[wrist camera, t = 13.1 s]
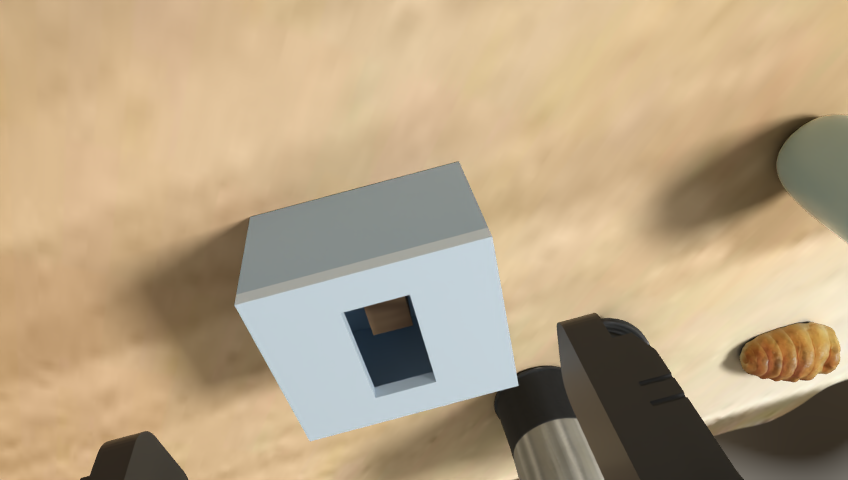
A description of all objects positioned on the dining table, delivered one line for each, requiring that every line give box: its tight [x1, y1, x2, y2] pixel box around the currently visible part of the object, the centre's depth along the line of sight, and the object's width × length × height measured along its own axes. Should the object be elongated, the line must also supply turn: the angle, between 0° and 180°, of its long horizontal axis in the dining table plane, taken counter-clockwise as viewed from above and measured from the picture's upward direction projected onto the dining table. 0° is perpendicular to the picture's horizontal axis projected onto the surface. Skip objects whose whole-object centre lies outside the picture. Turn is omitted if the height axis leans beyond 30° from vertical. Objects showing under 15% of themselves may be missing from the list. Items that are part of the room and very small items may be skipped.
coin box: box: [234, 162, 519, 441], centre depth 43 cm, size 16×14×10 cm
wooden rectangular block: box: [364, 296, 413, 335], centre depth 43 cm, size 3×6×6 cm
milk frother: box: [494, 318, 650, 480], centre depth 52 cm, size 14×16×15 cm
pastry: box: [739, 322, 840, 382], centre depth 60 cm, size 9×7×4 cm
